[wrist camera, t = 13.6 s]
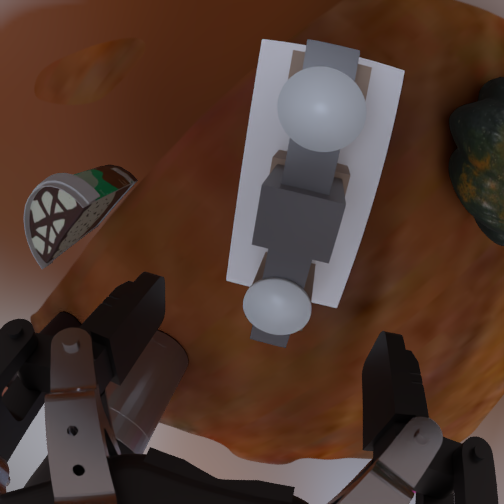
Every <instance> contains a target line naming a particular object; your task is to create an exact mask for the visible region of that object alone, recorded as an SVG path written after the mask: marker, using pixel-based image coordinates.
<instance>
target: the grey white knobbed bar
mask: <svg viewBox="0 0 504 504" xmlns="http://www.w3.org/2000/svg"><path fill="white" fill-rule="evenodd" d="M359 55H360V51H359V50H355V49H351V48H347V47H343V46H339V45H334V44H330V43H325V42H320V41H315V40H309V39H308V40H307V45H306V51H305V57H304V62H303V68H302V70H301V71H299V72H297V73H296V74H294V75H293V76H291V77H290V78H289V79H288V80H287V82H286V83H285V84H284V86H283V88H282V89H281V92H280V94H279V98H278V104H277V110H278V117H279V120H280V123H281V125H282V127H283V129H284V131H285V132H286V133H287V135H288V136H289V137H290V139H289V145H288V150H287V155H286V161H285V165H280V164H277V165H276V166H275V168H274V169H273V170H272V172H271V173H270V174H269V176H268V177H267V178H266V180H265V181H264V182H263V184H262V186H261V192H260V198H259V204H258V210H257V216H256V222H255V227H254V233H253V239H252V245H255V246H259V247H263V248H267V249H268V253H267V258H266V263H265V268H264V273H263V278H262V279H261V280H259V281H257V282H255V283H254V284H252V285H251V286H250V287H249V289H248V290H247V292H246V294H245V297H244V300H243V309H244V313H245V315H246V317H247V318H248V320H249V321H250V322H251V323H252V324H253V326H252V331H251V335H250V339H253V340H256V341H260V342H264V343H268V344H272V345H276V346H280V347H284V348H286V345H287V342H288V339H289V336H290V334H292V333H295V332H297V331H299V330H300V329H302V328H303V327H304V326H305V325H306V324H307V322H308V321H309V318H310V315H311V301H310V298H309V296H308V294H307V293H306V292H305V290H304V287H305V283H306V280H307V276H308V273H309V270H310V266H311V262H312V260H316V261H320V262H324V263H328V264H329V261H330V258H331V255H332V252H333V248H334V245H335V242H336V238H337V235H338V231H339V228H340V224H341V221H342V217H343V214H344V210H345V207H346V201H345V194H344V188H343V182H342V179H340V178H336V177H334V175H335V170H336V166H337V162H338V158H339V153H340V149H342V148H344V147H346V146H348V145H349V144H350V143H352V142H353V141H354V140H355V139H356V138H357V137H358V135H359V134H360V132H361V131H362V129H363V127H364V124H365V120H366V102H365V99H364V96H363V94H362V91H361V90H360V88H359V87H358V85H357V84H356V83H355V77H356V72H357V66H358V61H359Z"/></svg>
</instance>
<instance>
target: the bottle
mask: <svg viewBox="0 0 504 504" xmlns="http://www.w3.org/2000/svg"><path fill="white" fill-rule="evenodd" d="M80 326H81V324H80V323H79V322H78V320H77V319H76V318H74V317H73V316H72V315H70V314H68V313H65V312H61V313H59V314H58V315H57V316H56V317H55V318H54V319H53V320H52V321H51V322H50V323H49V324H48V325H47V326H46V327H45V328H44V329H43V330H42V331H41V332H40V333H39V334H45V335H51V336H55V335H56V334H57V333H58V332H60V331H61V330H64V329H67V328H79V327H80ZM17 376H18V375H17V373H16V374H15V375H14V377H13V378H12V379H11V381H10V382H9V383H8V385H7V386H6V387H5V389H4V390H3V393H2V396H3V394H4V393H5V392H6V390H7V389H8V388H9V386H10V385H11V384H12V382H13V381H14V380H15V378H16V377H17Z"/></svg>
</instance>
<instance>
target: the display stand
mask: <svg viewBox="0 0 504 504" xmlns="http://www.w3.org/2000/svg"><path fill="white" fill-rule="evenodd" d="M305 51H306V45H300V44H294V43H288V42H280V41H274V40H266V39H262V43H261V49H260V55H259V61H258V67H257V73H256V79H255V85H254V91H253V98H252V104H251V110H250V117H249V123H248V129H247V136H246V143H245V149H244V156H243V163H242V169H241V176H240V183H239V190H238V197H237V204H236V211H235V218H234V225H233V233H232V240H231V247H230V255H229V262H228V270H227V278H226V281H230V282H234V283H237V284H241V285H245V286H249V287H250V286H251V285H252V284H254V283H255V282H257V281H259V280H261V279H262V278H263V273H264V268H265V263H266V258H267V253H268V249H267V248H263V247H259V246H255V245H252V239H253V233H254V227H255V222H256V216H257V210H258V204H259V198H260V192H261V186H262V184H263V182H264V181H265V180H266V178H267V177H268V176H269V174H270V173H271V172H272V170H273V169H274V168H275V166H276V165H277V164H280V165H285V161H286V155H287V150H288V145H289V139H290V137H289V136H288V135H287V133H286V132H285V131H284V129H283V127H282V125H281V123H280V120H279V117H278V110H277V104H278V98H279V94H280V92H281V89H282V88H283V86H284V84H285V83H286V82H287V80H288V79H289V78H290V77H291V76H293V75H294V74H296V73H297V72H299V71H301V70H302V68H303V62H304V57H305ZM404 72H405V71H404V70H401V69H398V68H395V67H392V66H388V65H385V64H382V63H378V62H375V61H371V60H368V59H364V58H360V57H359V61H358V66H357V72H356V77H355V83H356V84H357V85H358V87H359V88H360V90H361V91H362V94H363V96H364V99H365V102H366V120H365V124H364V127H363V129H362V131H361V132H360V134H359V135H358V137H357V138H356V139H355V140H354V141H353V142H352V143H350V144H349V145H348V146H346V147H344V148H342V149H340V153H339V158H338V162H337V166H336V170H335V175H334V177H336V178H340V179H342V182H343V188H344V194H345V201H346V207H345V210H344V214H343V217H342V221H341V224H340V228H339V231H338V235H337V238H336V242H335V245H334V248H333V252H332V255H331V258H330V261H329V264H328V263H324V262H320V261H316V260H312V262H311V266H310V270H309V273H308V276H307V280H306V283H305V287H304V290H305V292H306V293H307V294H308V296H309V298H310V301H311V302H313V303H317V304H321V305H325V306H329V307H334V308H337V306H338V303H339V301H340V298H341V296H342V293H343V290H344V288H345V285H346V282H347V279H348V277H349V274H350V271H351V268H352V265H353V262H354V260H355V257H356V254H357V251H358V248H359V245H360V242H361V239H362V236H363V233H364V230H365V226H366V223H367V220H368V217H369V214H370V210H371V207H372V204H373V200H374V197H375V194H376V190H377V187H378V183H379V179H380V176H381V172H382V169H383V165H384V161H385V157H386V153H387V149H388V145H389V141H390V137H391V133H392V129H393V125H394V120H395V116H396V111H397V107H398V102H399V97H400V92H401V87H402V82H403V77H404ZM245 317H246V315H245ZM302 329H303V328H302ZM302 329H300V330H299V331H302Z"/></svg>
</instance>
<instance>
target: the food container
mask: <svg viewBox="0 0 504 504" xmlns="http://www.w3.org/2000/svg"><path fill="white" fill-rule="evenodd" d="M137 181H138V180H137V179H136V178H135V177H134V176H133V175H132V174H131V173H130V172H128V171H127V170H125V169H123V168H122V167H119V166H114V165H105V166H100V167H97V168H94V169H91V170H87V171H84V172H81V173H77V174H74V175H72V174H67V173H57V174H54V175H51V176H49V177H48V178H47V179H45V180H44V181H43V182H41V183H40V184H39V185H38V186H37V187H36V188H35V189H34V190H33V192H32V193H31V195H30V196H29V198H28V200H27V202H26V205H25V210H24V228H25V234H26V237H27V241H28V244H29V247H30V249H31V252H32V254H33V256H34V257H35V259H36V261H37V262H38V264H39V265H40V267H41V268H42V269H43V268H45V267H46V266H48V265H49V264H51V263H52V262H53V260H54V259H56V258H57V257H58V256H59V255H61V254H62V253H63V252H65V251H66V250H67V249H68V248H70V247H71V246H72V245H74V244H75V243H76V242H77V241H79V240H80V239H81V238H83V237H84V236H85V235H87V234H88V233H89V232H91V231H92V230H93V229H95V228H96V227H98V225H99V224H100V223H101V222H102V221H103V219H104V218H105V217H106V216H107V215H108V213H109V212H110V211H111V210H112V209H113V208H114V206H115V205H116V204H117V203H118V202H119V200H120V199H121V198H122V197H123V196H124V195H125V194H126V193H127V192H128V191H129V189H130V188H131V187H132V186H133V185H134V184H135V183H136V182H137Z"/></svg>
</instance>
